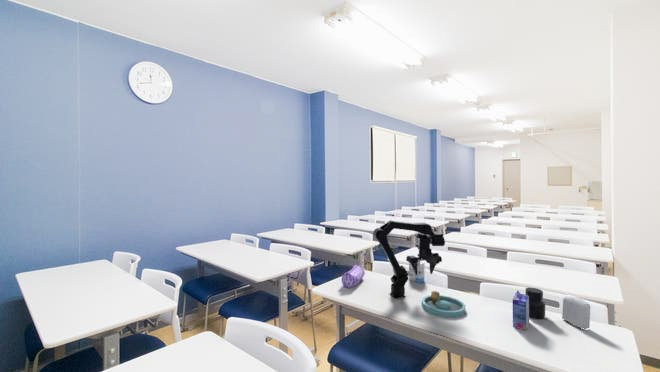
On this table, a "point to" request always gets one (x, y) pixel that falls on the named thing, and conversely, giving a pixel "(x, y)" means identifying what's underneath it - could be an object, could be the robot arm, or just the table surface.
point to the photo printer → (576, 311)
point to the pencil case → (353, 276)
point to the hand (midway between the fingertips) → (423, 274)
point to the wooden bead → (434, 296)
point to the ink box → (420, 272)
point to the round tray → (444, 306)
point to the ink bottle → (536, 303)
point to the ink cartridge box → (520, 311)
